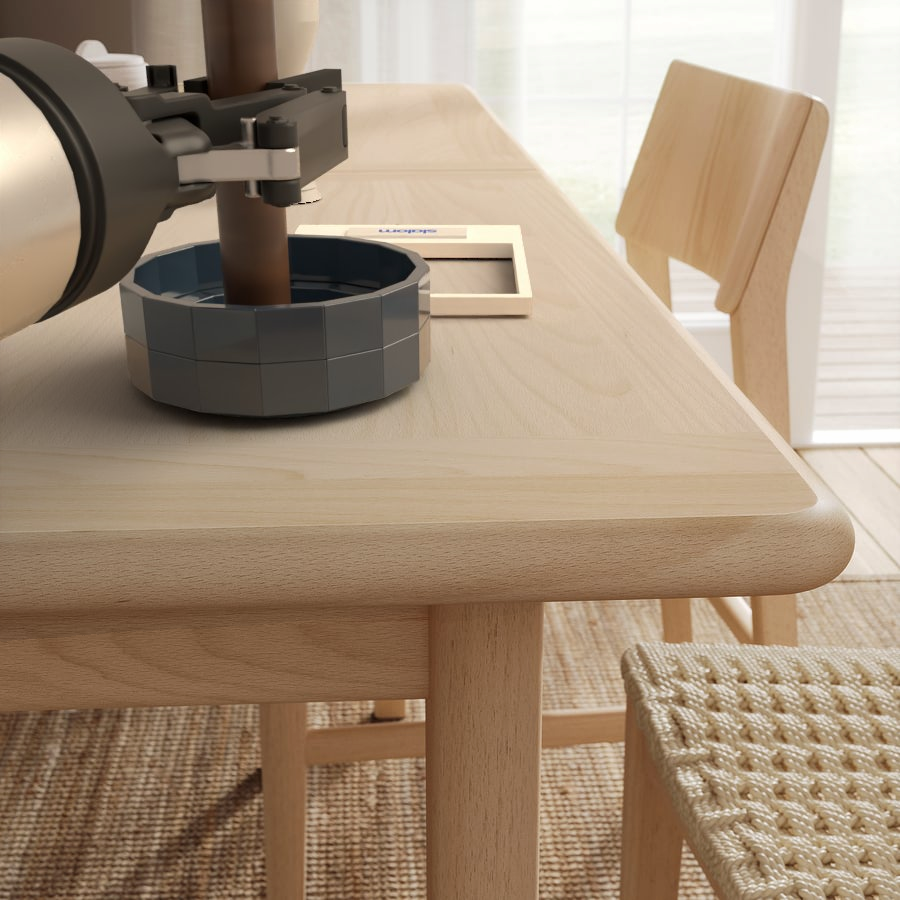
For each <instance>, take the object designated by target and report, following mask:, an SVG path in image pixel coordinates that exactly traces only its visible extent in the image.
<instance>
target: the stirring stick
mask: <svg viewBox="0 0 900 900" xmlns="http://www.w3.org/2000/svg"><path fill="white" fill-rule="evenodd" d="M200 12H201V24H202V37H203V38H202V39H203V50H204V63H205V76H207V89H208V97H209V99H210V101H212V100H218V99H223V98H229V97H234V96H239V95H245V94H250V93H256V92H261V91H266V83H267V82H271V81H275V80H279V78H278V60H277V42H276V25H275V7H274V0H200ZM215 201H216V202H215V203H216V213H217V226H218V227H217V228H218V239H219V241H220V253H221V266H222V279H223V291H224V304H226V305H247V306H265V305H281V304H291V291H290V273H289V255H288V237H287V234H288V222H287V220H288V219H287V207H284V208H279V207H275V206H271V205H270V204H265V203H263V202H262V197H259V198H249V197H246V196H245V186H244V181H220V182H219V184H218V188H217V191H216V194H215Z"/></svg>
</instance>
